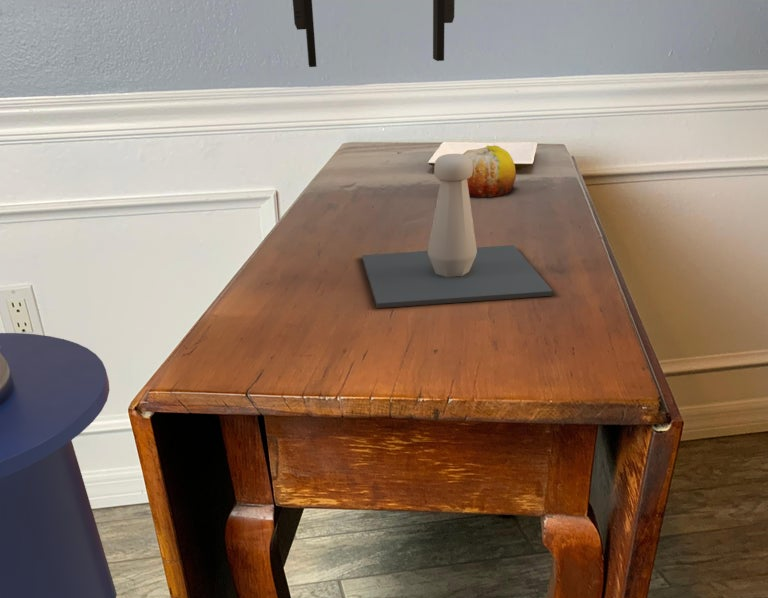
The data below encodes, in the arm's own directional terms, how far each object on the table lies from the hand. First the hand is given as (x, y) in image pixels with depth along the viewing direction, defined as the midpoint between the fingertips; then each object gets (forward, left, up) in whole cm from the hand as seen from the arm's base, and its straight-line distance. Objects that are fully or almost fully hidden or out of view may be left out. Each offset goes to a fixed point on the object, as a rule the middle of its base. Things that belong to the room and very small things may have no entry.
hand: (375, 63), depth 85 cm
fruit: (+21, +39, -23) cm, 50 cm away
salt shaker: (+8, -3, -22) cm, 24 cm away
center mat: (+8, -3, -23) cm, 24 cm away
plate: (+26, +60, -23) cm, 69 cm away
